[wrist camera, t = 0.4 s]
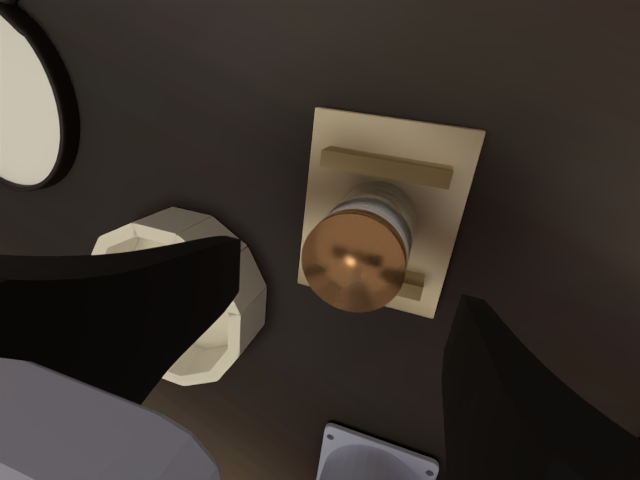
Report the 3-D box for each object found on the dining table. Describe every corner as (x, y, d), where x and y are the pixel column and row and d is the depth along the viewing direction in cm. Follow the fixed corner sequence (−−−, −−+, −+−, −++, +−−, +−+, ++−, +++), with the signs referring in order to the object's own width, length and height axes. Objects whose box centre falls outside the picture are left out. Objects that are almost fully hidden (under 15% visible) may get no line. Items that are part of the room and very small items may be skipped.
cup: (261, 370, 27) (237, 406, 24) (135, 328, 30) (99, 355, 26) (270, 229, 22) (242, 250, 19) (121, 194, 25) (75, 208, 22)
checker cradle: (433, 309, 21) (432, 334, 19) (303, 275, 23) (287, 295, 21) (483, 129, 17) (489, 134, 15) (321, 107, 19) (304, 108, 17)
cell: (407, 262, 19) (393, 323, 14) (335, 245, 20) (296, 297, 15) (424, 188, 18) (416, 228, 12) (345, 174, 19) (306, 205, 13)
